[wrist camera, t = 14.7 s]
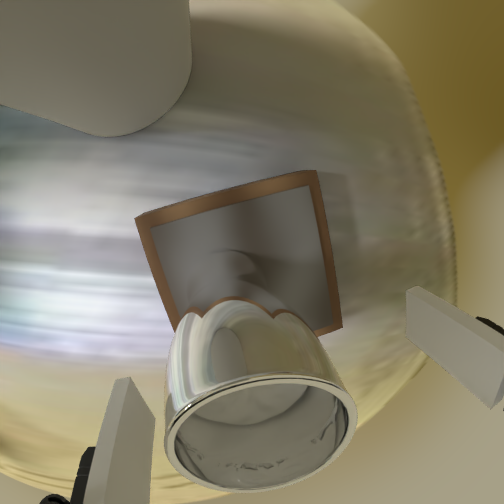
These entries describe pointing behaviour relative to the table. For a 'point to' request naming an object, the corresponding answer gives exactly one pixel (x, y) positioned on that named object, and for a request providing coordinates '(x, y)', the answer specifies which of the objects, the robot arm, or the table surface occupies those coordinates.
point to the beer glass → (249, 385)
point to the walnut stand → (250, 243)
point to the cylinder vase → (95, 61)
